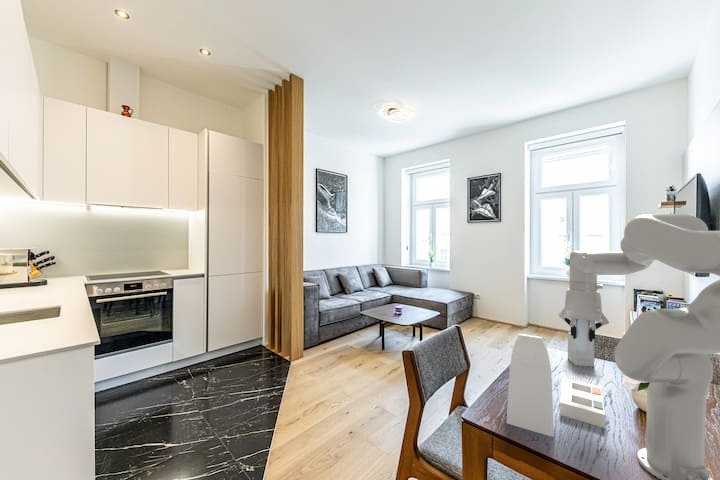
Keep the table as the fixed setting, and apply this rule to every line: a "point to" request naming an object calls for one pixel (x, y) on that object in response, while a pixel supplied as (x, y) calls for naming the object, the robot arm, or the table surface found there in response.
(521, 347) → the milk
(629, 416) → the table surface
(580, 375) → the table surface
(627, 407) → the table surface
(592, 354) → the supplement box
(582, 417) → the socket block
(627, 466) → the table surface
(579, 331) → the plug
